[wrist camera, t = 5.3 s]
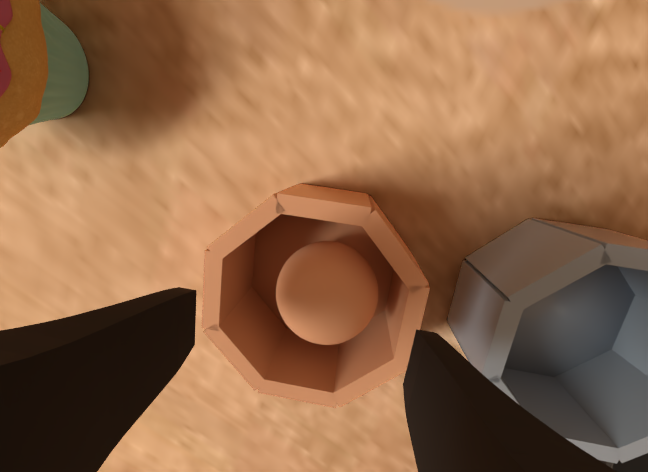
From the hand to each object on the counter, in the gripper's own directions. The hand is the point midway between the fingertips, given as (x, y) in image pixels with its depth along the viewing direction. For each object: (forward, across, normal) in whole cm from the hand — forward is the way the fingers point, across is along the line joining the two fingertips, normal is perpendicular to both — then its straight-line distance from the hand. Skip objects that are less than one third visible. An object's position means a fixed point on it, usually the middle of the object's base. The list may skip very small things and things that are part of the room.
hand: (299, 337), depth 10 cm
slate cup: (+6, -11, 0) cm, 13 cm away
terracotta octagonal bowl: (+6, 0, 0) cm, 6 cm away
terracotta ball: (+4, 0, 0) cm, 4 cm away
